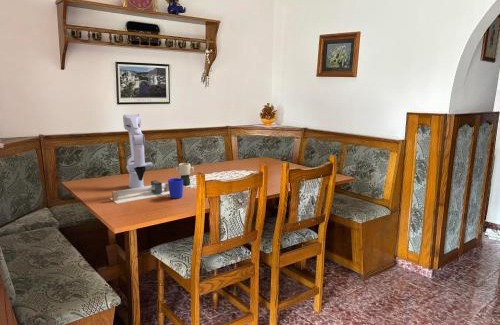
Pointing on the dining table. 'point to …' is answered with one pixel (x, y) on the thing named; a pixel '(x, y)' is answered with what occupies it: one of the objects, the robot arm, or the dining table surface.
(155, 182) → the collar
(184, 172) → the character mug
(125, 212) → the dining table surface
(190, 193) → the dining table surface
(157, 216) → the dining table surface
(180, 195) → the mug
